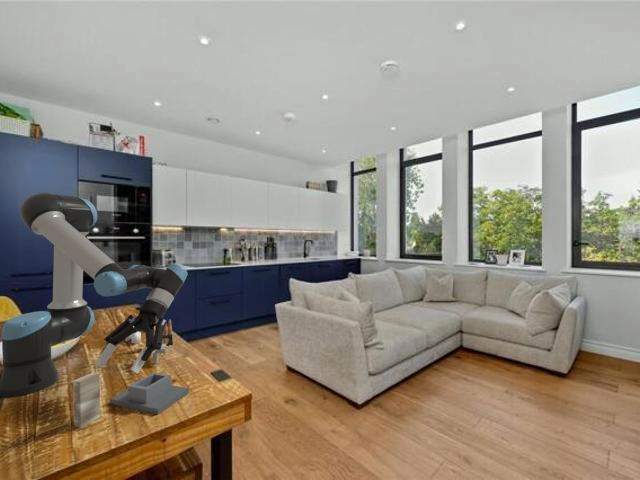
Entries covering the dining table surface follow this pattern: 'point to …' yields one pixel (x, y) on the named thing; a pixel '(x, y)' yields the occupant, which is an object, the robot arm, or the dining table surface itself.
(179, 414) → the dining table surface
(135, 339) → the penguin figurine
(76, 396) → the slat
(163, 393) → the rectangular socket base
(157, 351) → the pipe connector
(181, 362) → the dining table surface
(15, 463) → the dining table surface
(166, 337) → the ammunition clip
